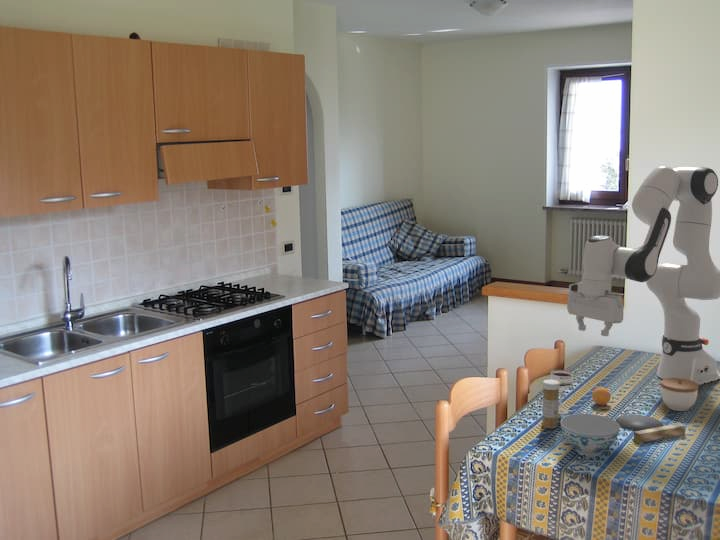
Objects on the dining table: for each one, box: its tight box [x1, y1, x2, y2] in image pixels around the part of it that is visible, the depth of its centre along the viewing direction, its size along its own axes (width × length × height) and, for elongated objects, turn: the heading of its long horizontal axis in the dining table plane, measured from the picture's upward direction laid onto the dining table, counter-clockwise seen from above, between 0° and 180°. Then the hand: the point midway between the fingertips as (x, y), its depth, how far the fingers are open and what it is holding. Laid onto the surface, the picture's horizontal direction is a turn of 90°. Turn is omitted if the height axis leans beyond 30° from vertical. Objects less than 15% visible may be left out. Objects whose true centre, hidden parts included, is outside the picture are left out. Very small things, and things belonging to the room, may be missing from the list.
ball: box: [591, 386, 611, 406], centre depth 239 cm, size 6×6×6 cm
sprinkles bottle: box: [541, 378, 560, 429], centre depth 221 cm, size 5×5×14 cm
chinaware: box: [560, 413, 621, 457], centre depth 204 cm, size 15×15×8 cm
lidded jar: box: [659, 378, 700, 412], centre depth 236 cm, size 11×11×9 cm
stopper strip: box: [633, 422, 686, 444], centre depth 213 cm, size 16×2×2 cm, turn 111°
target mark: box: [614, 414, 664, 432], centre depth 224 cm, size 13×13×1 cm
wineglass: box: [549, 369, 574, 415], centre depth 233 cm, size 7×7×12 cm
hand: (593, 333), depth 239 cm, fingers open, 8 cm apart
